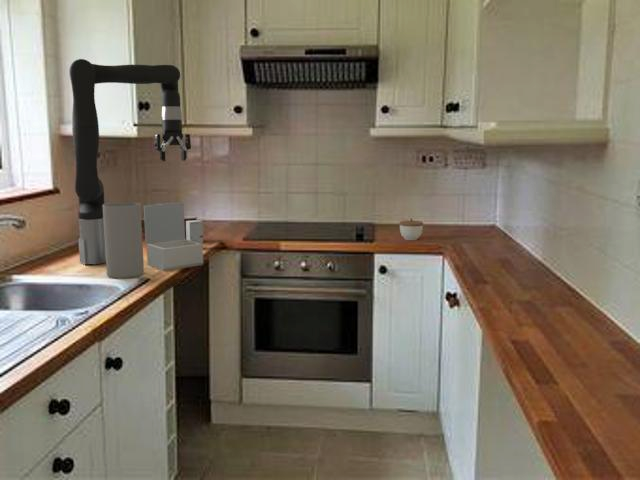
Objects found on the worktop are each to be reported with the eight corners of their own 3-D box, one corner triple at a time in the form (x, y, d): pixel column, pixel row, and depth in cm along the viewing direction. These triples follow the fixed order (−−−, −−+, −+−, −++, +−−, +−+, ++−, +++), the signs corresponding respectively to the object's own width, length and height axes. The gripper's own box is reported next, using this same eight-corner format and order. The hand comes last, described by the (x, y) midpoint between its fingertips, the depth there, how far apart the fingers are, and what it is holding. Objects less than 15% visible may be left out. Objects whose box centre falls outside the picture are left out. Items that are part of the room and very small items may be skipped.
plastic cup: (199, 240, 295) (198, 214, 293) (197, 244, 284) (196, 217, 282) (175, 241, 294) (173, 214, 292) (172, 245, 283) (171, 218, 281)
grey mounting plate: (144, 205, 239) (138, 204, 244) (146, 243, 242) (140, 241, 246) (183, 202, 249) (176, 201, 254) (185, 239, 252) (178, 237, 256)
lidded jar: (401, 236, 303) (401, 216, 301) (424, 237, 300) (424, 217, 298) (397, 240, 292) (397, 219, 291) (421, 241, 290) (421, 220, 288)
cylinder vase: (147, 270, 233) (144, 202, 229) (139, 278, 221) (135, 206, 216) (113, 271, 233) (108, 202, 228) (102, 279, 221) (97, 206, 216)
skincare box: (190, 250, 271) (189, 222, 269) (186, 249, 274) (185, 220, 272) (204, 249, 274) (202, 220, 272) (199, 247, 278) (198, 219, 276)
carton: (163, 271, 233) (162, 249, 231) (147, 264, 243) (146, 243, 242) (203, 265, 242) (202, 244, 241) (186, 259, 253) (185, 239, 252)
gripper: (158, 118, 242) (160, 162, 245) (193, 118, 251) (194, 160, 253) (150, 118, 248) (152, 161, 250) (184, 118, 256) (185, 159, 259)
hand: (173, 160), depth 252 cm, fingers open, 8 cm apart
